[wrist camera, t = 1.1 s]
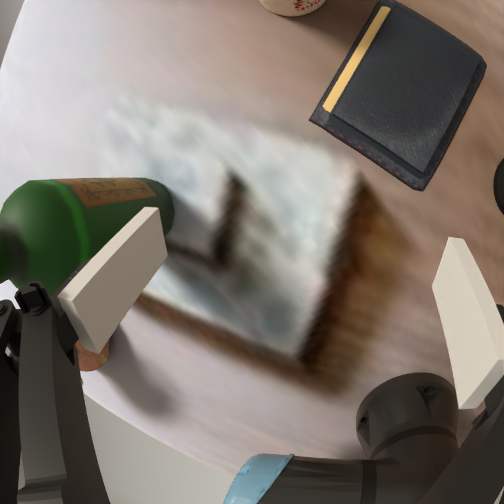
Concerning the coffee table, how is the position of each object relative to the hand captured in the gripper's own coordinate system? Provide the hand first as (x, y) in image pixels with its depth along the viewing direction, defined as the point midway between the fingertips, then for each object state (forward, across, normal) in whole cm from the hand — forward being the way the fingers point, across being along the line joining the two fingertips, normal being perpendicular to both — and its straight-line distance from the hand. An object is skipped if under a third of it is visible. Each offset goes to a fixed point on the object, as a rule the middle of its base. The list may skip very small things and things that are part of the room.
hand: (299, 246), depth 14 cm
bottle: (+21, +21, +10) cm, 31 cm away
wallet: (+26, -10, -6) cm, 28 cm away
